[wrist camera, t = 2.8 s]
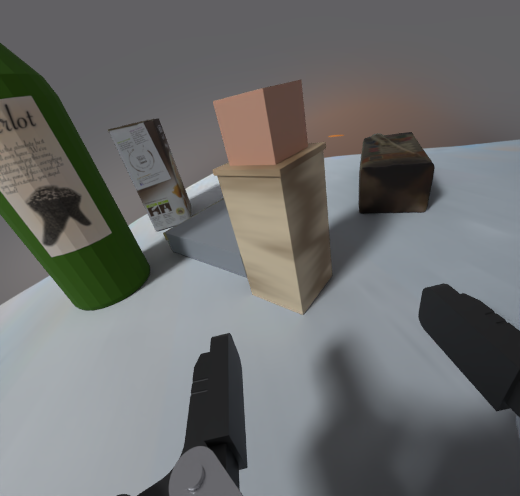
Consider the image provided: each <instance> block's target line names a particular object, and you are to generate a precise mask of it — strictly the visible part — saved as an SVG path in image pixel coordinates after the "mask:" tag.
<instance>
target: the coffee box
mask: <svg viewBox="0 0 520 496" xmlns="http://www.w3.org/2000/svg"><path fill="white" fill-rule="evenodd" d="M108 131H109V133H110V135H111V137H112V139H113V141H114V143H115V146H116V147H117V150H118V152H119V154H120V156H121V158H122V161H123V162H124V165H125V167H126V169H127V171H128V173H129V175H130V177H131V179H132V182H133V184H134V186H135V188H136V190H137V192H138V194H139V196H140V198H141V200H142V203H143V205H144V207H145V209H146V211H147V213H148V215H149V218H150V220H151V222H152V224H153V226H154V228H155V230H156V231H159V230H162V229H166V228H169V227H172V226H176V225H178V224H180V223H182V222H183V221H185V220H187V219H189V218H190V217H191V204H190V201H189V198H188V196H187V193H186V190H185V188H184V185H183V182H182V180H181V177H180V174H179V172H178V169H177V166H176V163H175V161H174V158H173V155H172V153H171V150H170V148H169V145H168V142H167V139H166V137H165V134H164V131H163V129H162V126H161V124H160V121H159V119H152V120H146V121H141V122H137V123H132V124H129V125H124V126H121V127H117V128H113V129H108Z"/></svg>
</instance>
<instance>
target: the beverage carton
mask: <svg viewBox="0 0 520 496" xmlns="http://www.w3.org/2000/svg"><path fill="white" fill-rule="evenodd" d="M433 173H434V164H433V163H432V161H431V160H430V158H429V157H428V156H427V154H426V153H425V151H424V150H423V149H422V147H421V146H420V144H419V143H418V141H417V140H416V139H415V137H414V136H413V133H412V132H409V133H399V134H392V135H384V136H383V135H382V134H374V135H372V136H371V137H368V138H365V139H364V142H363V148H362V154H361V162H360V171H359V213H389V212H391V213H403V212H408V213H409V212H420V213H421V212H425V211H426V209H427V205H428V200H429V195H430V190H431V185H432V180H433Z"/></svg>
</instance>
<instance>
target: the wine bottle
mask: <svg viewBox="0 0 520 496" xmlns="http://www.w3.org/2000/svg"><path fill="white" fill-rule="evenodd" d="M0 215H1V216H2V217H3V218H4V219H5V220H6V222H7V223H8V224H9V226H10V227H11V228H12V229H13V230H14V232H15V233H16V234H17V235H18V237H19V238H20V239H21V240H22V241H23V243H24V244H25V245H26V246H27V248H28V249H29V250H30V251H31V253H32V254H33V255H34V256H35V257H36V259H37V260H38V261H39V262H40V264H41V265H42V266H43V267H44V269H45V270H46V271H47V272H48V273H49V275H50V276H51V277H52V278H53V280H54V281H55V282H56V283H57V284H58V286H59V287H60V288H61V289H62V291H63V292H64V293H65V294H66V296H67V297H68V298H69V299H70V300H71V302H72V303H73V304H74V305H75V306H76V307H77V308H79V309H82V310H97V309H102V308H105V307H108V306H110V305H113V304H115V303H117V302H119V301H121V300H123V299H125V298H127V297H128V296H130V295H131V294H133V293H134V292H135V291H136V290H138V289H139V288H140V287H141V286H142V285H143V284H144V283H145V281H146V280H147V278H148V276H149V274H150V266H149V264H148V262H147V260H146V258H145V256H144V254H143V253H142V251H141V249H140V247H139V245H138V243H137V241H136V240H135V238H134V236H133V234H132V232H131V230H130V228H129V227H128V225H127V223H126V221H125V219H124V217H123V215H122V214H121V212H120V210H119V208H118V206H117V204H116V203H115V201H114V199H113V197H112V195H111V193H110V191H109V190H108V188H107V186H106V184H105V182H104V181H103V178H102V177H101V175H100V173H99V171H98V169H97V167H96V165H95V164H94V162H93V160H92V158H91V156H90V154H89V152H88V151H87V149H86V147H85V145H84V143H83V142H82V139H81V138H80V136H79V134H78V132H77V130H76V128H75V127H74V125H73V123H72V121H71V119H70V117H69V116H68V114H67V112H66V110H65V108H64V106H63V104H62V102H61V101H60V99H59V97H58V96H57V94H56V93H55V92H54V90H53V89H52V88H51V87H50V85H49V84H48V83H47V82H46V80H45V79H44V78H43V77H42V76H41V75H39V74H38V73H37V72H36V71H35V70H33V69H32V68H31V67H30V66H29V65H27V64H26V63H25V62H24V61H22V60H21V59H20V58H19V57H17V56H16V55H15V54H13V53H12V52H11V51H10V50H9V49H7V48H6V47H5V46H4V45H2V44H1V43H0Z"/></svg>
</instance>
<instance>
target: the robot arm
mask: <svg viewBox="0 0 520 496" xmlns="http://www.w3.org/2000/svg"><path fill="white" fill-rule="evenodd" d="M419 321H420V323H421V325H422V327H423V328H424V330H425V331H426V332H427V333H428V334H429V335H430V337H431V338H432V339H433V340H434V341H435V342H436V343H437V344H438V346H439V347H440V348H441V349H442V350H443V351H444V352H445V354H446V355H447V356H448V357H449V358H450V359H451V360H452V361H453V363H454V364H455V365H456V366H457V367H458V368H459V369H460V371H461V372H462V373H463V374H464V375H465V376H466V377H467V379H468V380H469V381H470V382H471V383H472V384H473V385H474V386H475V388H476V389H477V390H478V391H479V392H480V393H481V394H482V396H483V397H484V398H485V399H486V400H487V401H488V402H489V403H490V405H491V406H492V407H493V408H494V409H495V410H496V411H500V410H505V409H509V408H511V409H512V410H513V411H514V412H515V413H516V414H517V416H516V425H517V430H518V435H519V440H520V331H519V330H518V329H516V328H515V327H514V326H512V325H511V324H510V323H507V322H506V320H505V319H503V318H502V317H501V316H499V315H498V314H495V313H494V311H493V310H492V309H490V308H489V307H488V306H487V305H485V304H484V303H483V302H481V301H480V300H477V299H475V298H473V297H471V296H469V295H467V294H464V293H463V294H459V293H458V292H457V291H456V290H455V289H453V288H452V287H451V286H449V285H448V284H440V285H435V286H431V287H427V288H424V289H423V291H422V297H421V302H420V308H419ZM245 468H247V451H246V433H245V415H244V397H243V379H242V367H241V361H240V357H239V354H238V351H237V349H236V346H235V344H234V341H233V339H232V336H231V334H230V333H227V334H223V335H219V336H215V337H212V338H211V345H210V352H207V353H203V354H201V355H200V357H199V359H198V361H197V363H196V365H195V367H194V373H193V384H192V389H191V397H190V405H189V413H188V421H187V428H186V436H185V443H184V448H183V451H182V454H181V456H180V458H179V460H178V461H177V463H176V464H175V466H174V468H173V469H172V470H171V471H170V473H168V474H167V475H166V476H165V477H164V478H163V479H161V480H160V481H158V482H157V483H155V484H154V485H152V486H151V487H149V488H148V489H146V490H145V491H143V492H142V493H140V494H139V495H137V496H243V495H242V493H241V492H240V490H239V470H241V469H245ZM117 496H130V495H127V494H121V495H117Z"/></svg>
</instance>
